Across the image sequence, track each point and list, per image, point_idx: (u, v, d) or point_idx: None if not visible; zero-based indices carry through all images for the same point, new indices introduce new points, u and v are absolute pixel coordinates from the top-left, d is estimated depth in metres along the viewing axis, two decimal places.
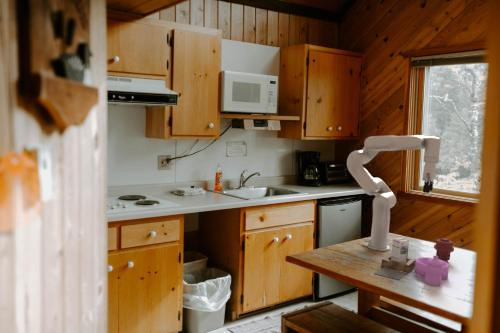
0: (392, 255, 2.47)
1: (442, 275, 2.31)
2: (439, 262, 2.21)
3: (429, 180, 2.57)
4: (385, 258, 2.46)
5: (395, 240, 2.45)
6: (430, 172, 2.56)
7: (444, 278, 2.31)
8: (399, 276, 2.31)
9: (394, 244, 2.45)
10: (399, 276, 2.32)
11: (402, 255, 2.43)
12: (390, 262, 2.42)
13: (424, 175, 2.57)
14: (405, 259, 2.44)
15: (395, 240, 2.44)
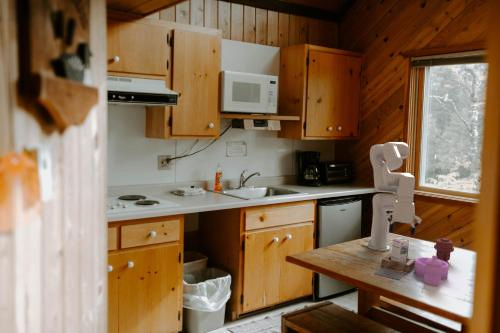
0: (392, 255, 2.47)
1: (441, 275, 2.30)
2: (438, 262, 2.21)
3: (413, 221, 2.42)
4: (385, 258, 2.46)
5: (395, 240, 2.45)
6: (414, 213, 2.42)
7: (443, 278, 2.31)
8: (399, 276, 2.31)
9: (394, 244, 2.45)
10: (399, 276, 2.32)
11: (402, 255, 2.43)
12: (390, 262, 2.42)
13: (413, 217, 2.39)
14: (405, 259, 2.44)
15: (395, 240, 2.44)
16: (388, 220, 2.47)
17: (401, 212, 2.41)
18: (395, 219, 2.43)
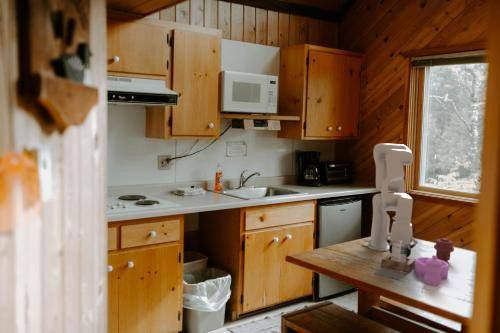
0: (392, 255, 2.47)
1: (441, 275, 2.31)
2: (438, 262, 2.21)
3: (410, 242, 2.44)
4: (385, 258, 2.46)
5: None
6: None
7: (443, 278, 2.31)
8: (399, 276, 2.31)
9: (394, 244, 2.45)
10: (399, 276, 2.32)
11: (402, 255, 2.43)
12: (390, 262, 2.42)
13: (410, 239, 2.41)
14: (405, 259, 2.44)
15: None
16: (387, 241, 2.48)
17: (399, 233, 2.43)
18: (393, 240, 2.45)
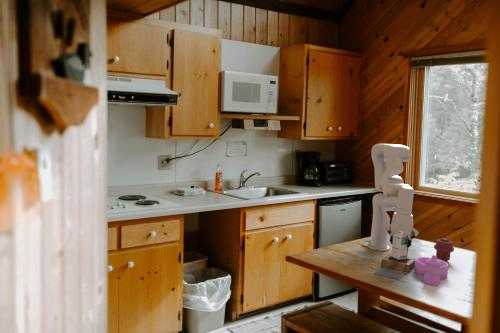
0: (393, 246, 2.46)
1: (441, 275, 2.31)
2: (437, 262, 2.21)
3: None
4: (385, 258, 2.46)
5: None
6: None
7: (443, 278, 2.32)
8: (399, 276, 2.31)
9: (395, 234, 2.45)
10: (399, 276, 2.32)
11: (403, 246, 2.43)
12: (390, 262, 2.42)
13: (411, 229, 2.41)
14: (406, 250, 2.44)
15: None
16: (388, 232, 2.48)
17: (399, 224, 2.42)
18: (393, 230, 2.44)
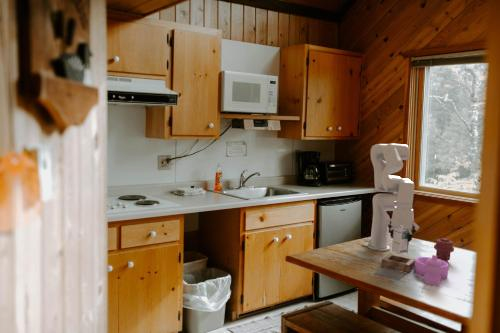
0: (393, 240, 2.46)
1: (441, 275, 2.31)
2: (438, 262, 2.22)
3: None
4: (385, 258, 2.46)
5: None
6: (413, 219, 2.42)
7: (443, 278, 2.32)
8: (399, 276, 2.31)
9: (395, 228, 2.45)
10: (399, 276, 2.32)
11: (403, 240, 2.43)
12: (390, 262, 2.42)
13: (412, 223, 2.40)
14: (406, 244, 2.44)
15: None
16: (388, 226, 2.48)
17: (400, 218, 2.42)
18: (394, 225, 2.44)
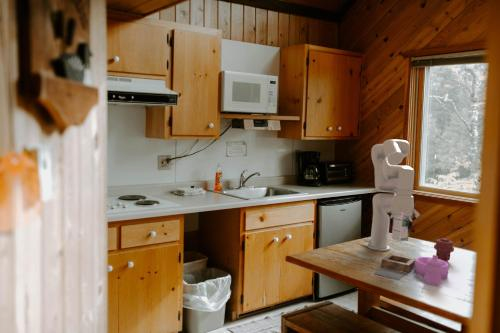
0: (393, 228, 2.42)
1: (441, 275, 2.31)
2: (438, 262, 2.22)
3: (412, 214, 2.39)
4: (385, 258, 2.46)
5: None
6: (413, 206, 2.39)
7: (443, 278, 2.32)
8: (399, 276, 2.31)
9: (395, 216, 2.41)
10: (399, 276, 2.32)
11: (404, 228, 2.39)
12: (390, 262, 2.42)
13: (412, 210, 2.37)
14: (407, 232, 2.40)
15: None
16: (388, 214, 2.44)
17: (400, 205, 2.38)
18: (394, 212, 2.40)
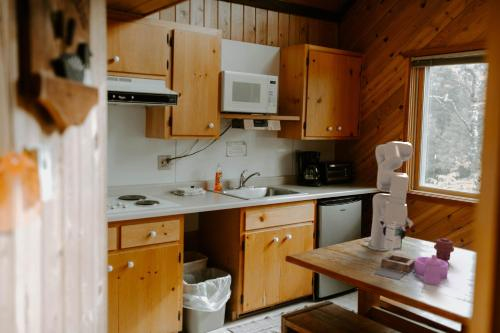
0: (386, 237, 2.33)
1: (441, 274, 2.31)
2: (437, 261, 2.22)
3: (405, 223, 2.31)
4: (385, 258, 2.46)
5: None
6: None
7: (443, 277, 2.32)
8: (399, 276, 2.31)
9: (388, 225, 2.32)
10: (399, 276, 2.32)
11: (397, 237, 2.30)
12: (390, 262, 2.42)
13: (405, 219, 2.28)
14: (400, 241, 2.31)
15: None
16: (381, 223, 2.35)
17: (393, 214, 2.30)
18: (386, 221, 2.31)
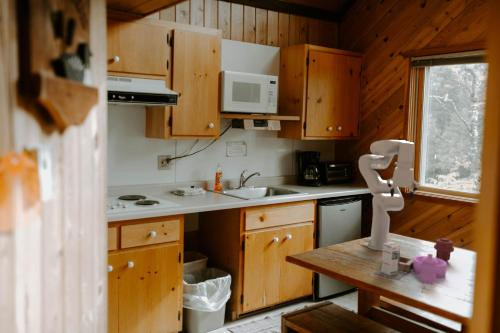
0: (383, 261, 2.35)
1: (438, 274, 2.32)
2: (433, 260, 2.23)
3: (412, 186, 2.53)
4: None
5: (386, 245, 2.33)
6: (413, 178, 2.53)
7: (440, 277, 2.33)
8: (399, 276, 2.31)
9: (385, 249, 2.34)
10: (399, 276, 2.32)
11: (393, 261, 2.32)
12: None
13: (412, 182, 2.50)
14: (396, 265, 2.33)
15: (386, 245, 2.33)
16: (388, 185, 2.58)
17: (401, 177, 2.52)
18: (395, 184, 2.54)
